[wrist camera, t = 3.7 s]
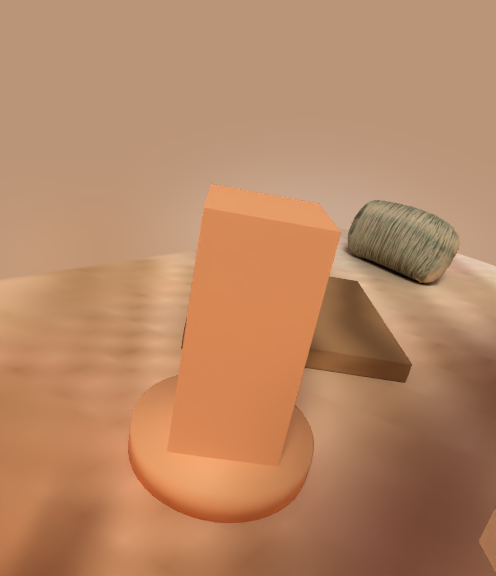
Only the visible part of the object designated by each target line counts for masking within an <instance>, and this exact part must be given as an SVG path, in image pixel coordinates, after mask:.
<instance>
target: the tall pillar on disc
mask: <svg viewBox="0 0 496 576" xmlns="http://www.w3.org/2000/svg"><path fill="white" fill-rule="evenodd" d="M340 234H341V231H340V230H339V229H338V228H337V226H336V225H335V224H334V222H333V221H332V220H331V219H330V217H329V216H328V215H327V213H326V212H325V211H324V210H323V208H322V207H321V206H320V204H319V203H314V202H308V201H303V200H297V199H291V198H286V197H281V196H275V195H270V194H264V193H259V192H253V191H248V190H243V189H237V188H232V187H227V186H221V185H216V184H211V187H210V190H209V193H208V196H207V199H206V202H205V205H204V209H203V216H202V222H201V229H200V236H199V242H198V249H197V255H196V262H195V268H194V275H193V282H192V288H191V295H190V302H189V308H188V315H187V321H186V328H185V335H184V341H183V348H182V354H181V361H180V368H179V374H178V375H176V376H173V377H170V378H167V379H165V380H163V381H160V382H159V383H157V384H155V385H153V386H152V387H151V388H149V389H148V390H147V391H146V392H145V393H144V394H143V395H142V396H141V397H140V398H139V400H138V401H137V403H136V405H135V407H134V409H133V413H132V417H131V425H130V434H129V443H128V453H129V460H130V463H131V466H132V469H133V471H134V473H135V475H136V476H137V478H138V480H139V481H140V482H141V484H142V485H143V486H144V487H145V488H146V489H147V490H148V491H149V492H150V493H151V494H152V495H153V496H154V497H155V498H157V499H158V500H159V501H161V502H162V503H163V504H165V505H167V506H169V507H171V508H172V509H174V510H176V511H178V512H181V513H183V514H186V515H188V516H191V517H195V518H198V519H201V520H207V521H213V522H223V523H237V522H247V521H253V520H258V519H261V518H264V517H267V516H270V515H272V514H274V513H276V512H278V511H280V510H281V509H283V508H284V507H286V506H287V505H288V504H289V503H290V502H291V501H293V500H294V499H295V497H296V496H297V495H298V493H299V492H300V490H301V488H302V486H303V484H304V482H305V478H306V475H307V472H308V468H309V465H310V462H311V458H312V455H313V451H314V439H313V434H312V431H311V427H310V425H309V423H308V421H307V419H306V418H305V417H304V415H303V414H302V412H301V411H300V410H299V409H298V408H297V407H296V405H295V401H296V398H297V394H298V390H299V387H300V383H301V379H302V375H303V372H304V368H305V364H306V361H307V357H308V353H309V349H310V346H311V342H312V338H313V335H314V331H315V327H316V323H317V320H318V316H319V312H320V308H321V305H322V301H323V297H324V294H325V290H326V286H327V282H328V279H329V275H330V271H331V268H332V264H333V260H334V256H335V253H336V249H337V245H338V241H339V238H340Z"/></svg>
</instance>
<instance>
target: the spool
mask: <svg viewBox="0 0 496 576" xmlns="http://www.w3.org/2000/svg"><path fill="white" fill-rule="evenodd" d="M348 247H349V250H350V251H351V252H353V253H354V254H355V255H356V256H358V257H359V258H365V259H367V260H370V261H373V262H375V263H377V264H380V265H383V266H385V267H387V268H389V269H391V270H394V271H396V272H398V273H400V274H402V275H405V276H407V277H409V278H411V279H413V280H417V281H419V282H420V283H432V282H433V281H435V280H437V279H438V278H439V277H441V276H442V275H443V273H444V272H445V271H446V269H447V268H448V267H449V265H450V264H451V262H452V260H453V258H454V257H455V255H456V253H457V251H458V249H459V236H458V232H457V231H456V230H455V229H454V228H453V227H452V226H451V225H450V224H449V223H447V222H445V221H444V220H442V219H441V218H439V217H437V216H436V215H434V214H430V213H427V212H425V211H423V210H420V209H417V208H414V207H411V206H406V205H402V204H398V203H392V202H387V201H380V200H374V201H371V202H369V203H367V204H366V205H365V206H364V207H363V208H362V209H361V210H360V211H359V213H358V214H357V215H356V217H355V218H354V220H353V223H352V225H351V227H350V230H349V233H348Z"/></svg>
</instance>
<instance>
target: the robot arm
mask: <svg viewBox="0 0 496 576" xmlns="http://www.w3.org/2000/svg"><path fill="white" fill-rule="evenodd" d="M479 543H480V545H481V547H482V549H483V550H484V552H485V554H486V556H487V558H488V560H489V561H490V563H491V565H492V567H493V569H494V571H495V572H496V508H495V510H494V512H493V514H492V516H491V518H490V520H489V521H488V523H487V525H486V527H485V529H484V531H483V533H482V535H481V537H480V539H479Z"/></svg>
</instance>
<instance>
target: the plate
mask: <svg viewBox="0 0 496 576" xmlns="http://www.w3.org/2000/svg"><path fill="white" fill-rule="evenodd" d="M186 321H187V319H186ZM185 328H186V324H185ZM185 328H184V334H183V340H182V347H181V348H183V341H184V335H185ZM411 366H412V364H411V362H410V361H409V359H408V358H407V356H406V355H405V353H404V351H403V350H402V348H401V347H400V345H399V344H398V342H397V341H396V339H395V338H394V336H393V335H392V333H391V332H390V330H389V329H388V327H387V326H386V324H385V323H384V321H383V320H382V318H381V316H380V315H379V313H378V312H377V310H376V309H375V307H374V306H373V304H372V303H371V301H370V300H369V298H368V297H367V295H366V294H365V292H364V291H363V289H362V288H361V286H360V284H359V283H358V281H353V280H347V279H341V278H335V277H329V279H328V282H327V286H326V290H325V294H324V297H323V301H322V305H321V308H320V312H319V316H318V320H317V323H316V327H315V331H314V335H313V338H312V342H311V346H310V349H309V353H308V357H307V361H306V364H305V367H307V368H314V369H320V370H327V371H334V372H340V373H347V374H353V375H360V376H366V377H373V378H380V379H386V380H393V381H399V382H406V379H407V377H408V374H409V371H410V369H411Z"/></svg>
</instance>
